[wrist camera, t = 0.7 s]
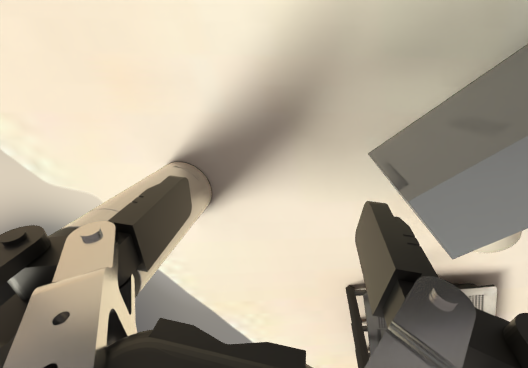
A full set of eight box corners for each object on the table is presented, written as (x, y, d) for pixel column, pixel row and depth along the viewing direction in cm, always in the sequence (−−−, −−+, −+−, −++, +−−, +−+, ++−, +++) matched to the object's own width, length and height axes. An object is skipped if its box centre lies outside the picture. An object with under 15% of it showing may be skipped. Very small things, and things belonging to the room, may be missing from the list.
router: (473, 359, 42) (550, 489, 28) (355, 355, 47) (375, 463, 33) (485, 272, 34) (599, 396, 21) (344, 279, 39) (362, 381, 26)
